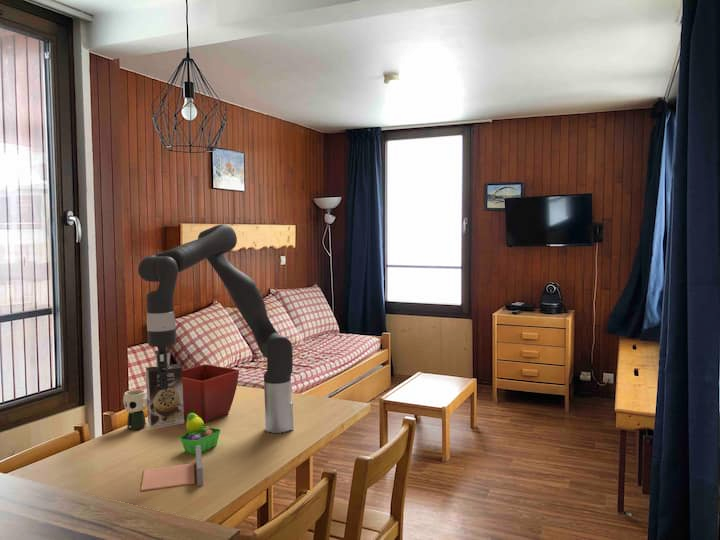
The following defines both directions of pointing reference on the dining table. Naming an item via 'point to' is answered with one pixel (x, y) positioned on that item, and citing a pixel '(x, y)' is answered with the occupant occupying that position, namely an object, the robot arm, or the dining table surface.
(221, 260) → the robot arm
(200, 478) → the low wall
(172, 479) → the mat
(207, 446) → the fruit basket
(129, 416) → the character mug
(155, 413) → the coffee box
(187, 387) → the plant pot
